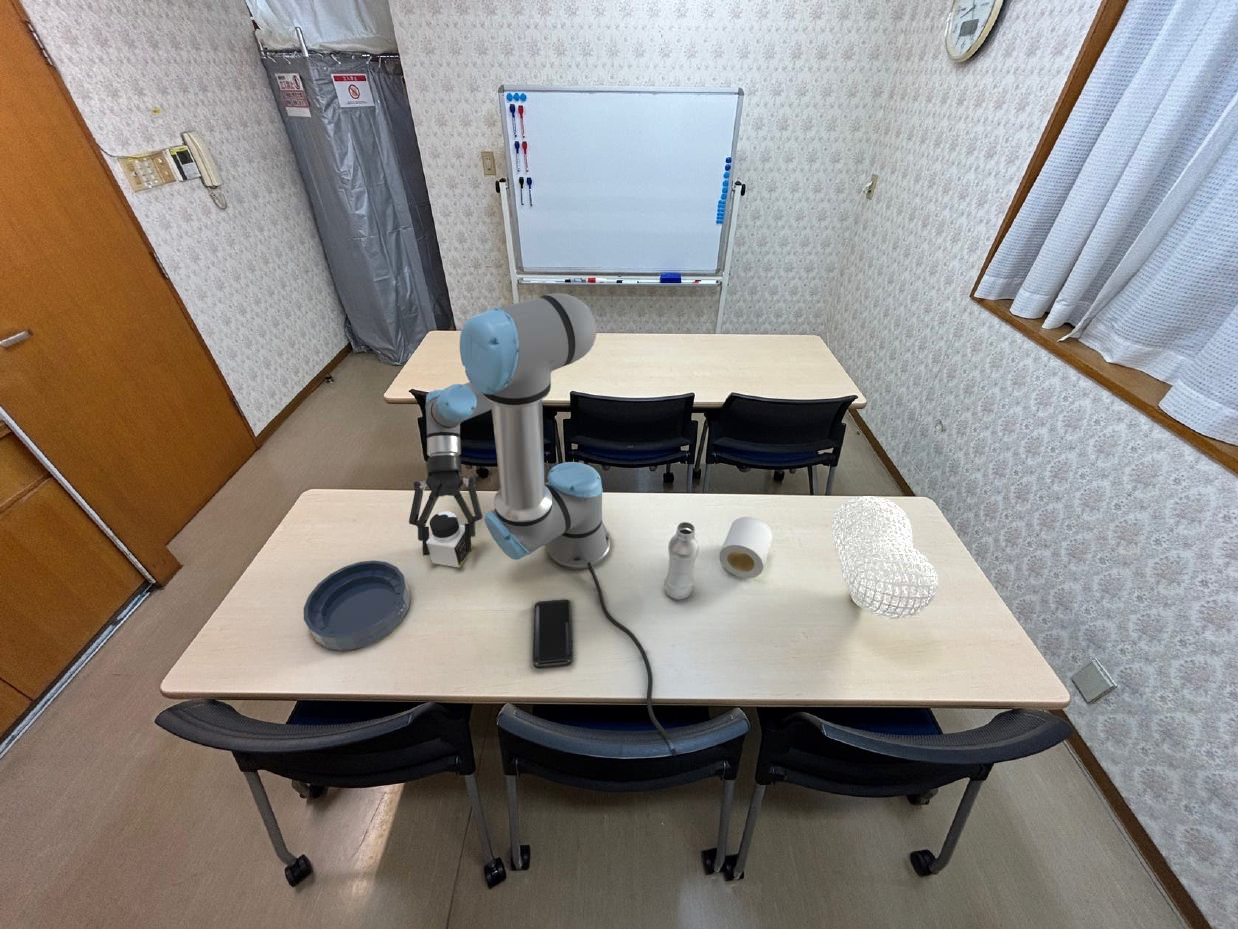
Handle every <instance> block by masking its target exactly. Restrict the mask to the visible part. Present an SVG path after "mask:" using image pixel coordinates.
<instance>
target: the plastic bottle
mask: <svg viewBox="0 0 1238 929" xmlns="http://www.w3.org/2000/svg"><path fill="white" fill-rule="evenodd" d="M695 533H696V527H695V525H694V524H693V523H691V522H689V521H682V522H680V523H679V524H678V525H677V527H676V531H675V534H674V535H673V536H672V537H671V538H670V540H669V542H668V545H667V546H668V547H667V550H668V570H667V573H666V576H665V579H664V589H665V592H666V595H668V596H669V597H670V598H672V599H674V600H684V599H687V598H689V596H690V595H691V594H692V592H693V590H694V587H695V584H694V583H695V582H694V566H695V562H696V560H697V557H698V554H699V550H700V545H699V542H698V540H697V538H696V537H695V535H696V534H695Z"/></svg>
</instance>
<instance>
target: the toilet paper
mask: <svg viewBox="0 0 1238 929" xmlns="http://www.w3.org/2000/svg"><path fill="white" fill-rule="evenodd" d="M773 536H774V535H773V532H772V530H771V528H770V526H768V524H766V523H765V522H764V521H762V520H760V519H759V518H756V517H752V516H741V517H738V518H736V519H734V521H732V523H731V525H730V528H729V530H728V532H727V535H726V537H725V539H724V542H723V544H722V546H721V548H720V551H719V555H718V559H719V562H720V565H721V566H722V567H723V569H724V570H726V571H727V572H728V573H730V574H731V575H733V576H735V577H738V578H743V579H752V578H756V577H758V576H759V575H761V574H762V572H763V570H764V567H765V564H766V560H767V557H768V554H769V551H770V548H771V545H772V541H773Z"/></svg>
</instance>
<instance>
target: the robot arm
mask: <svg viewBox="0 0 1238 929" xmlns="http://www.w3.org/2000/svg"><path fill="white" fill-rule="evenodd" d="M596 339H597V323H596V319H595V317H594V314H593V312H592V311H591V309H590V308H589V307H588V306H587V304H585V303H584V302H583V301H582V300H580V299H579V298H577V297H575V296H573V295H570V294H567V293H562V292H556V293H555V292H553V293H549V294H544V295H540V296H537V297H535V298H530V299H527V300H524V301H520V302H516V303H512V304H509V305H505V306H501V307H493V308H492V307H491V308H489V309H487V310H485V311H484V312H481V313H477V314H474V315H473V316H471V317H470V318H469V319H468V320H467V321H466V322H465V323H464V325H463V326H462V328H461V331H460V335H459V355H460V360H461V365H462V366H463V367H464V372H465V375H466V377H467V379H468V381H469V382H466V383H462V384H461V383H453V384H450V385H449V386H447V387H445V388H443V389H434V390H433V391H429V392H428V393H427V394H426V397H425V406H424V407H425V408H424V409H425V418H426V419H425V420H426V455H427V456H428V458H427V477H426V479H425V480H423V481H414V482H413V489H414V490H413V491H414V495H413V499H412V504H411V508H410V513H409V514H410V515H409V519H408V523H409V525H412V526H416V527H417V540H418V541H419V542H422V556H430V553H429V550H428V547H427V544H426V542H427V540H428V539H429V537H430V526H427V523H428V520H429V519H430V516H431V515H432V514H431V513H433V512H432V511H433V509H434V507H435V505H436V503H437V501H438V500H439V498H440V497H442V498H443V497H446V496H448V497H453V498H454V499H455V501H456V502H457V504H458V507H459V508H460V510H461V511H462V513H463V515H464V517H465V519H466V521H467V523H464V525H465V547H466V552H469V553H471V552H472V548H471V542H472V538H475V537H476V522H478V521H481V520H482V519H483V518H484V524H485V526H486V528H487V530H488V532H489V534H490V535H491V537H492V539H493V541H494V542H495V543H496V545H497V546H498V547H499V548H500V550H501V551H502V552H503V554H505V555H506V556H507V557H508V558H510V559H512V560H516V561H517V560H520V559H523V558H524V557H526V556H530V555H531V554H532V553H533V552H534V553H535V551H537V550H539V549H540V548H542V547H544V546H545V545H546V544H547V552H548V555H549V557H550V558H551V560H552V561H553V562H554V563H555V564H557V565H558V566H560V567H563V568H566V569H569V570H585V569H588V570H589V573H590V575H591V577H592V580H593V581H594V584H595V586H596V590H597V593H598V598H599V603H600V606H601V610H602V612H603V614H604V615H605V616H606V618H607V619H608V620H609V621H610V622H611V623H612V624H614V626H616V628H619V629H620V630H621V631H623V632H624V633H625V634H627V636H629V637H630V638H631V640H632V641H633V643H634V644H635V646H636V647H637V649H638V650H639V652H640V654H641V657H642V659H643V663H644V665H645V669H646V674H647V690H646V708H647V712H648V715H649V719H650V720H651V723H652V724H653V726H654V727H655V728H656V729H657V731H658V732H659V733H660V732H662V733H660V735H661V736H662V737H663V738H664V740H665V739H667V740H672V738H671V736H670V735H669V734H668V732H667V731H666V730H665V729H664V727H663V726H662V725H661V724H660V723H659V721H658V719H657V718H656V716H655V714H654V711H653V705H652V691H653V673H652V668H651V663H650V660H649V658H648V655H647V653H646V651H645V649H644V647H643V645H642V644H641V642H640V641H639V639H638V638H637V636H636V635H635V634H634V633H633V632H632V631H631V630H630V629H629V628H627V627H626V626H625V625H623V624H622V623H620V622H619V621H618V620H616V619H615V618H614V617H613V616H612V615H611V614H610V612H609V610H608V608H607V606H606V604H605V600H604V596H603V590H602V588H601V584H600V582H599V580H598V577H597V575H596V572H595V570H594V566H597V565H598V564H600V563H601V562H603V561H604V560H605V559H606V557H607V556H608V555H609V552H610V548H611V539H610V535H609V532H608V530H607V527H606V526H605V523H604V522H603V491H604V490H603V486H602V478H601V476H600V473H599V472H598V471H597V470H596V469H595V468H594V467H592V466H590V465H588V464H586V463H583V462H576V461H567V462H562V463H558V464H556V465H554V466H553V467H551V469H550V470H549V473H548V475H547V482H545V456H544V420H543V414H544V413H543V400H545V398H546V397H547V396H548V395H549V393H550V392H551V388H552V372H554V371H555V370H558V369H561V368H564V367H566V366H569V365H571V364H573V363H575V362H577V361H579V360H581V359H582V358H584V357H585V356H586V355H587V354H588V353H590V351H591V350H592V348H593V346H594V345H595V341H596ZM489 411H491V416H492V424H493V425H492V426H493V434H494V443H495V452H496V460H497V471H498V479H499V480H498V481H499V489H498V490H497V492H496V494H495V495H494V499H493V506H494V509H493V510H489V511H488V512H487V513H485V515H484V517H483V512H482V508H481V505H480V501H479V498H478V497H479V496H478V494H477V490H476V487H477V486H476V485H477V484H476V483H477V480H476V479H475V478H473V477H470V478H465V477H463V470H462V458H461V456H460V455H461V454H462V444H461V424H462V423H463V422H465V421H467V420H469V419H472V418H474V417H477V416H479V415H483V414H484V413H486V412H489ZM463 484H464V485H465V487H467V490H468V494H469V498H470V502H471V505H472V509H473V513H474V515H473V513H472V511H471V510H470V508H469V506H468V504H467V502H466V501H465V499H464V497H463V494H462V493H461V491H460V489H461V487H462V486H463ZM426 487H428V488H429V489H430V490H431V491H430V493H429V495H428V499H427V500H426V503H425V505H424V508H423V510H422V511H421V506H422V502H423V497H424V491H425V490H426ZM420 511H421V514H420ZM670 738H671V739H670ZM670 753H671V755H672V756H673V757H676V756H677V755H678V754H677V753H678V752H677V748H676V747H675V748H674V749H672V750H670Z"/></svg>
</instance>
